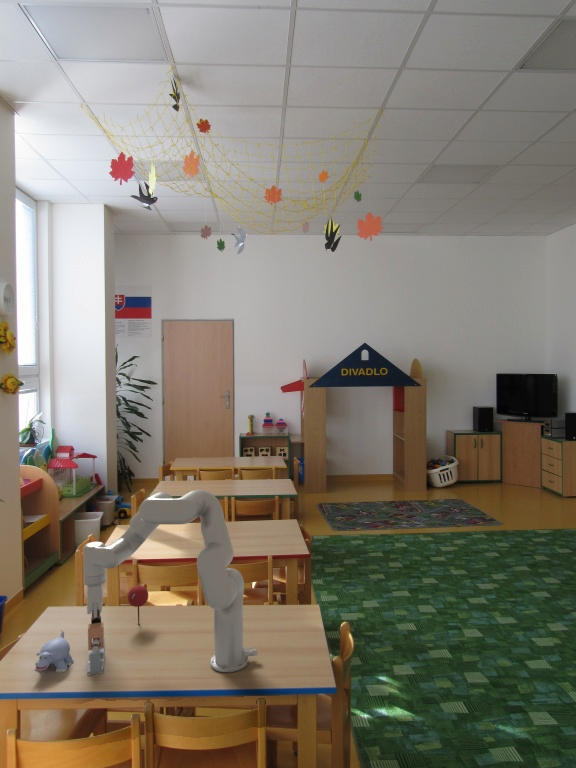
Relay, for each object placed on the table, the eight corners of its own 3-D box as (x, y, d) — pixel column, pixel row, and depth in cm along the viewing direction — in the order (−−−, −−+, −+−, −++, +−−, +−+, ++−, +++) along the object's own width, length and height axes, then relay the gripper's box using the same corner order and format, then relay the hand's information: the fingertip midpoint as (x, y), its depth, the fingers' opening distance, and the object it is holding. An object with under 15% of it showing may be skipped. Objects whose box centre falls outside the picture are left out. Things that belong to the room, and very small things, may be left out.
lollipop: (126, 622, 229) (126, 584, 229) (146, 618, 233) (145, 581, 232) (130, 630, 222) (129, 591, 222) (150, 626, 226) (149, 588, 225)
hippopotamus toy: (24, 679, 189) (23, 650, 189) (49, 656, 204) (48, 629, 204) (55, 681, 188) (54, 652, 187) (78, 657, 203) (78, 630, 202)
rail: (104, 640, 215) (104, 622, 215) (103, 672, 193) (102, 652, 192) (90, 642, 213) (89, 624, 213) (87, 675, 191) (86, 654, 191)
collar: (103, 643, 207) (103, 622, 206) (103, 648, 203) (103, 627, 202) (88, 645, 205) (88, 624, 205) (88, 650, 201) (87, 629, 201)
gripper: (85, 571, 214) (86, 621, 214) (82, 587, 199) (84, 640, 200) (106, 569, 216) (107, 618, 216) (105, 584, 201) (107, 637, 202)
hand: (96, 628), depth 208 cm, fingers closed
